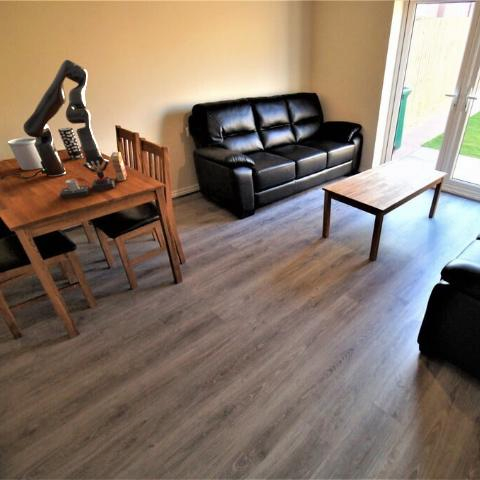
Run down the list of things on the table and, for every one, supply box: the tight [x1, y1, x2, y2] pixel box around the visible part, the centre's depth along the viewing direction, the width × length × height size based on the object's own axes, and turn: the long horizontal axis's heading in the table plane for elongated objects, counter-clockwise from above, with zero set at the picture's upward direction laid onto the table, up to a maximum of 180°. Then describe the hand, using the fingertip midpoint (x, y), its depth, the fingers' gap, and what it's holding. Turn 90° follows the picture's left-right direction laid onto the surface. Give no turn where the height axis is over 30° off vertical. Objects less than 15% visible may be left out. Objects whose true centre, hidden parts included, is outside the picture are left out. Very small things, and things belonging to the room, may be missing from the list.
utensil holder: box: [7, 137, 43, 171], centre depth 211 cm, size 15×15×18 cm
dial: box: [65, 178, 80, 191], centre depth 175 cm, size 5×5×5 cm
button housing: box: [91, 176, 116, 192], centre depth 186 cm, size 10×9×5 cm
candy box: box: [110, 151, 128, 182], centre depth 195 cm, size 9×4×15 cm, turn 20°
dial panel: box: [59, 184, 91, 201], centre depth 177 cm, size 12×10×3 cm
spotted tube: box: [57, 127, 84, 160], centre depth 227 cm, size 8×8×20 cm
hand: (101, 178), depth 185 cm, fingers closed
